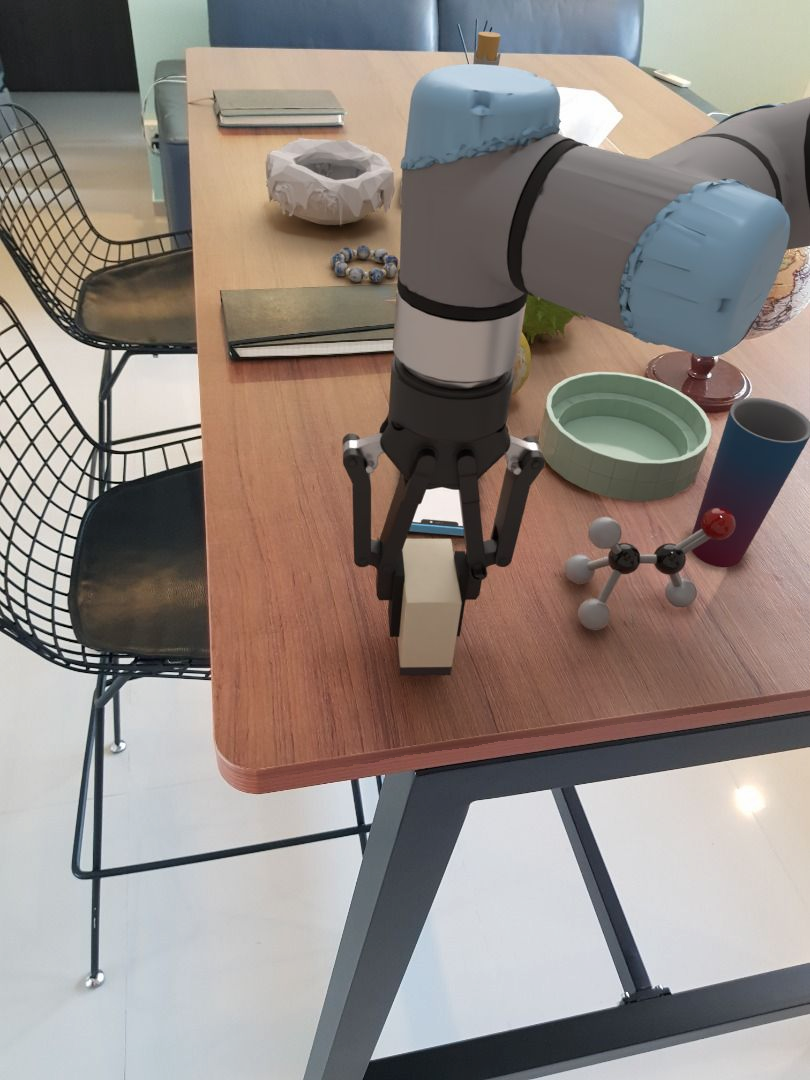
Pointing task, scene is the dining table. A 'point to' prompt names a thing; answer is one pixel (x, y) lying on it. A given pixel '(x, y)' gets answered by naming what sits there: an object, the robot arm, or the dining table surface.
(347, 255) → the bracelet
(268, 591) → the dining table surface
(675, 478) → the celadon bowl
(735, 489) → the cup
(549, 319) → the chestnut
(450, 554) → the eraser
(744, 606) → the dining table surface
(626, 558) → the molecular model
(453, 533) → the smartphone
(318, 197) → the bowl
